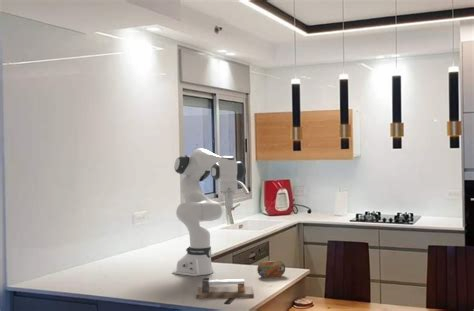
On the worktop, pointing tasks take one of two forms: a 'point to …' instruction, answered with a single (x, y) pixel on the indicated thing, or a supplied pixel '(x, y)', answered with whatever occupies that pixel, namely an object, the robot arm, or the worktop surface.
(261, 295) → the worktop surface
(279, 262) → the tin
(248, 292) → the latch base
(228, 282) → the latch lever
